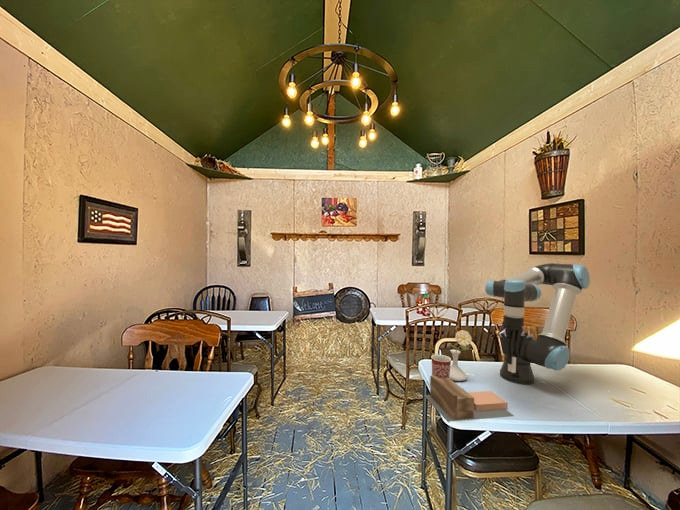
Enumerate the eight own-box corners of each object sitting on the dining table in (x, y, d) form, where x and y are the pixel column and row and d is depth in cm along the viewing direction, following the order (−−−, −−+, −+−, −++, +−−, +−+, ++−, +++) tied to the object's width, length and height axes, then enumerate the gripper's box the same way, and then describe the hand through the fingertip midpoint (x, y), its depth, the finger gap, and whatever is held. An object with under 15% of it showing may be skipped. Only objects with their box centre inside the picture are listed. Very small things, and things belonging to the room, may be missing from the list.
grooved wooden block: (448, 394, 128) (448, 374, 128) (473, 417, 110) (474, 394, 110) (430, 395, 127) (430, 375, 126) (452, 419, 109) (453, 395, 109)
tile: (490, 396, 127) (490, 390, 127) (507, 408, 117) (507, 402, 117) (461, 398, 125) (461, 392, 125) (476, 411, 115) (476, 404, 115)
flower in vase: (442, 380, 143) (443, 330, 143) (443, 372, 154) (444, 325, 154) (471, 385, 138) (472, 333, 138) (470, 376, 149) (471, 328, 149)
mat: (481, 392, 132) (481, 391, 132) (514, 417, 112) (514, 416, 112) (423, 396, 127) (423, 395, 127) (448, 422, 107) (448, 421, 107)
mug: (453, 391, 132) (453, 361, 132) (432, 389, 133) (433, 360, 133) (445, 379, 145) (446, 352, 145) (427, 378, 146) (428, 351, 146)
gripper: (520, 314, 128) (518, 367, 128) (493, 314, 126) (491, 368, 126) (534, 318, 120) (532, 374, 120) (506, 318, 118) (504, 375, 118)
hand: (511, 371), depth 123 cm, fingers closed
